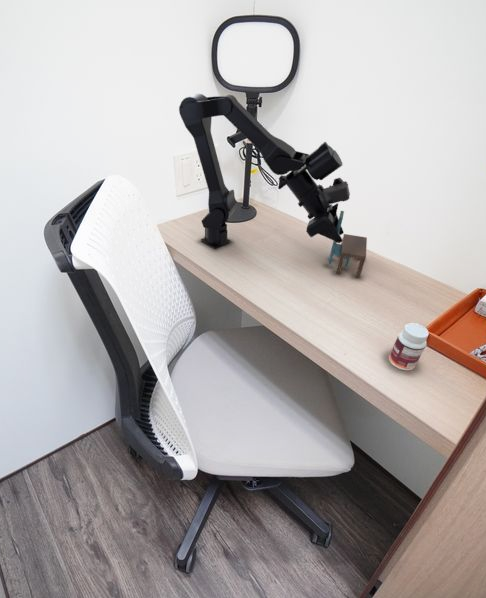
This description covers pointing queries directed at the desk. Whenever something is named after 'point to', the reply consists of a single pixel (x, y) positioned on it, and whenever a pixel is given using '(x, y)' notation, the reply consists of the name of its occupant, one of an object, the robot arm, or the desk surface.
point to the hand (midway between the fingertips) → (341, 237)
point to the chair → (337, 247)
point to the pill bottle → (409, 346)
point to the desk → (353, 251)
